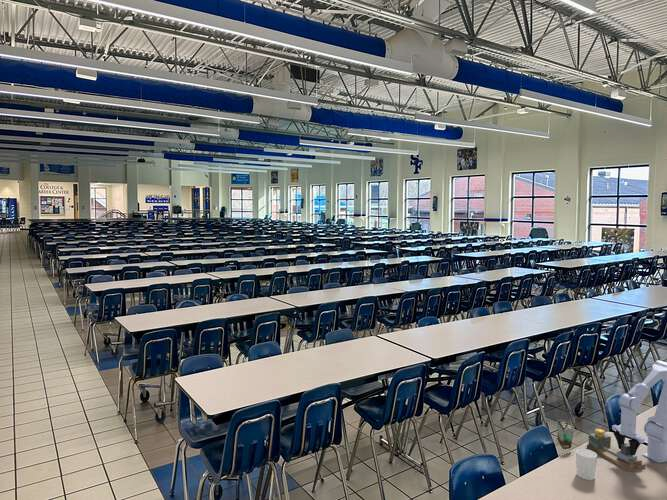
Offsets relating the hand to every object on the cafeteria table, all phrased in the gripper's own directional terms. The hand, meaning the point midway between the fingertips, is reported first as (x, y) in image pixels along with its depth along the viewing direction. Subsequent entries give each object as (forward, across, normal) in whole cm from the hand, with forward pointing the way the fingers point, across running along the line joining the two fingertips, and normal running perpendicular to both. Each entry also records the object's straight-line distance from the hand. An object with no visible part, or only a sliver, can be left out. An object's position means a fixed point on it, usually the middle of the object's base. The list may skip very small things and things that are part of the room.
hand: (626, 451), depth 212 cm
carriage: (+3, 0, 0) cm, 3 cm away
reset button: (+1, -14, 0) cm, 15 cm away
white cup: (+6, +3, -26) cm, 27 cm away
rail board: (+5, -6, 0) cm, 8 cm away
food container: (+6, -22, -12) cm, 26 cm away
